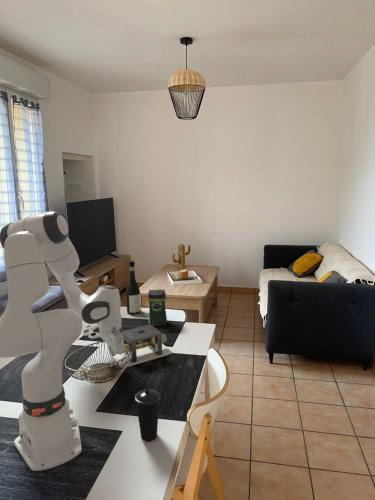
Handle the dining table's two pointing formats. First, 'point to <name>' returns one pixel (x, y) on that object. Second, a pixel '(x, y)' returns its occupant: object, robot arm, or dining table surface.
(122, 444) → the dining table surface
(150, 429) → the drinking cup
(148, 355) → the grey base plate
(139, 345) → the brass air tube
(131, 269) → the wine bottle
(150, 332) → the iron frame
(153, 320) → the coffee jar
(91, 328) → the grey looped trivet
